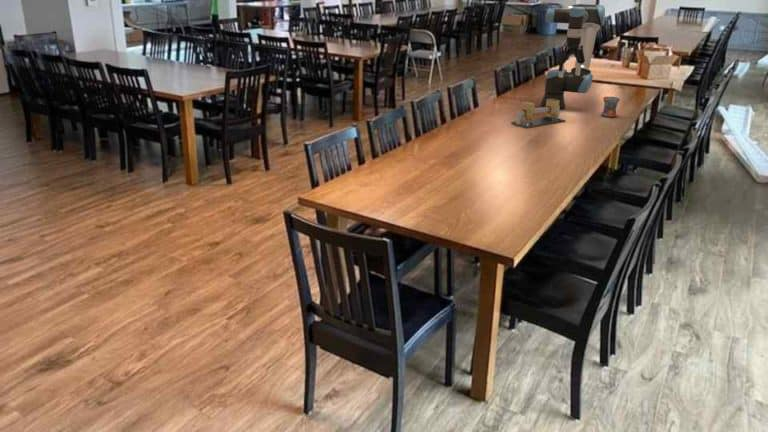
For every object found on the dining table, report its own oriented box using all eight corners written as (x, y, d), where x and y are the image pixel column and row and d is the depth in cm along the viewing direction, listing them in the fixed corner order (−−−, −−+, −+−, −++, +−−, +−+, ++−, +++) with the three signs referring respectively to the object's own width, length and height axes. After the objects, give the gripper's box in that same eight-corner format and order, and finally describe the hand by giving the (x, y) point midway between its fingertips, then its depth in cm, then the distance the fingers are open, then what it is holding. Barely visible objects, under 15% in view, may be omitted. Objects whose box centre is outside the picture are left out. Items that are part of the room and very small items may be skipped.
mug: (614, 118, 353) (617, 100, 348) (598, 116, 358) (601, 98, 354) (620, 114, 362) (623, 97, 357) (605, 112, 367) (607, 95, 363)
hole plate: (511, 123, 339) (511, 121, 338) (549, 117, 353) (550, 114, 353) (526, 128, 329) (526, 125, 329) (565, 121, 344) (565, 119, 343)
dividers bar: (514, 123, 336) (516, 103, 332) (553, 116, 351) (555, 97, 347) (523, 125, 331) (525, 105, 326) (562, 119, 345) (565, 100, 341)
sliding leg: (544, 117, 347) (546, 99, 343) (549, 116, 349) (551, 98, 345) (554, 119, 342) (556, 101, 338) (559, 119, 344) (561, 100, 340)
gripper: (563, 38, 322) (558, 79, 330) (594, 36, 334) (589, 75, 343) (552, 37, 328) (548, 77, 336) (584, 35, 340) (579, 73, 348)
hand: (569, 76), depth 339 cm, fingers open, 13 cm apart
